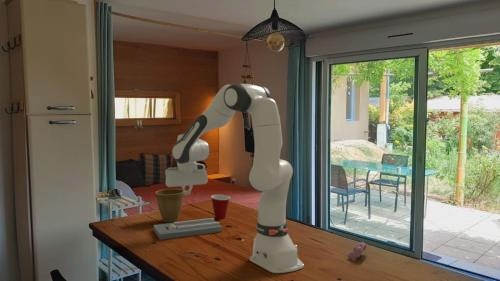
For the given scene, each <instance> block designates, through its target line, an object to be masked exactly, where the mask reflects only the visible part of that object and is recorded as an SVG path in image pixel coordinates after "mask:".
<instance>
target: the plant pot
mask: <svg viewBox="0 0 500 281" xmlns="http://www.w3.org/2000/svg"><path fill="white" fill-rule="evenodd" d="M184 196H185V195H184V191H183V189H182V188H181V189H180V188H167V189H165V188H164V189H160V190H157V191H155V197H156V203H157V206H158V210H159V212H160V216H161V219H162V220H163V222H164V223H166V224H167V223H174V222H178V220H179V217H180V214H181V211H182V206H183V201H184Z"/></svg>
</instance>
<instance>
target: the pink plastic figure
mask: <svg viewBox="0 0 500 281" xmlns="http://www.w3.org/2000/svg"><path fill="white" fill-rule="evenodd" d="M367 246H368V244H367V243H366V242H364V241H362V242H359V243H358V244H357V245H356V246H354V248H353V250H352V251H351V252H350V253H348V255H347V258H348V259H349V260H355V259H359V258H360V257H361V256H363V255H364V254H365V253H364V251H366V249H367Z"/></svg>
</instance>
